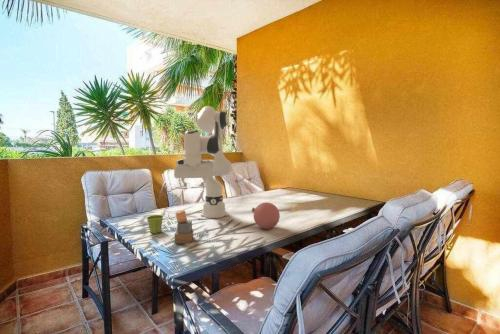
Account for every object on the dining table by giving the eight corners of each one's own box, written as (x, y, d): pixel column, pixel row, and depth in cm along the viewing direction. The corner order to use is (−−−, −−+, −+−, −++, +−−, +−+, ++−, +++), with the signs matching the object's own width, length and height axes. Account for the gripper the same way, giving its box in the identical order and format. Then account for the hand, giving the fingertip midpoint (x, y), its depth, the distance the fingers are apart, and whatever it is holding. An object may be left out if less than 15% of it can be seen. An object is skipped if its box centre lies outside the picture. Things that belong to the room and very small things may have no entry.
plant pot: (146, 235, 161) (145, 219, 161) (147, 230, 170) (146, 215, 170) (164, 233, 164) (163, 218, 163) (164, 228, 173) (163, 214, 172)
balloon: (262, 221, 186) (262, 198, 185) (285, 228, 170) (285, 203, 169) (243, 226, 176) (243, 201, 175) (265, 234, 161) (265, 206, 160)
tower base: (178, 238, 156) (178, 229, 156) (193, 238, 156) (193, 229, 156) (174, 243, 148) (174, 233, 148) (190, 243, 148) (190, 233, 148)
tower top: (180, 229, 154) (180, 220, 154) (192, 229, 154) (191, 220, 154) (177, 233, 148) (177, 223, 148) (189, 233, 148) (188, 223, 148)
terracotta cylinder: (185, 218, 154) (183, 209, 154) (188, 220, 150) (185, 211, 149) (176, 221, 152) (174, 212, 152) (178, 223, 148) (176, 214, 147)
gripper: (213, 159, 158) (213, 184, 160) (175, 160, 158) (176, 185, 159) (212, 160, 152) (212, 186, 154) (172, 161, 151) (173, 187, 153)
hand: (194, 186), depth 157 cm, fingers open, 8 cm apart
